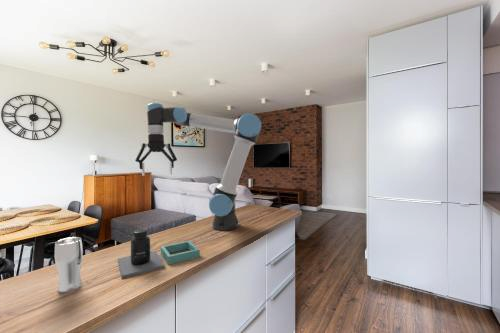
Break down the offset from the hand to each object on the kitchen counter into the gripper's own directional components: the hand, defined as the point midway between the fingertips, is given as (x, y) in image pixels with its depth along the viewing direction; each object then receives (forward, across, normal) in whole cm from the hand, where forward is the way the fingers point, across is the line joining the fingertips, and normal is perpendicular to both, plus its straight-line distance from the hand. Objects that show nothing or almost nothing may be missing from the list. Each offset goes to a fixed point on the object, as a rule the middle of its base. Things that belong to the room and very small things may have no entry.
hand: (157, 175), depth 124 cm
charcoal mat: (+31, +14, +32) cm, 47 cm away
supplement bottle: (+31, +14, +32) cm, 47 cm away
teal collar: (+32, -1, +33) cm, 45 cm away
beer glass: (+31, +35, +37) cm, 60 cm away
